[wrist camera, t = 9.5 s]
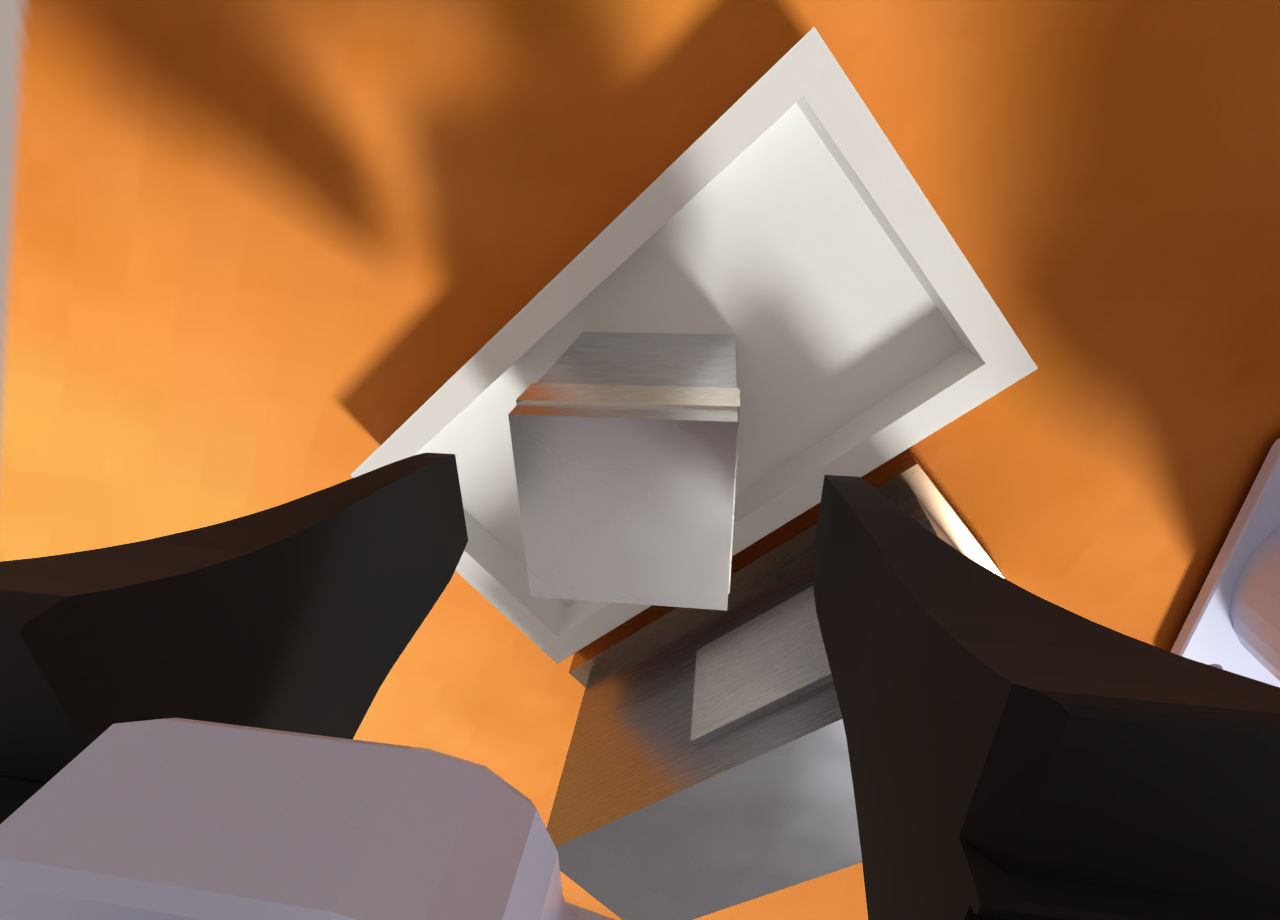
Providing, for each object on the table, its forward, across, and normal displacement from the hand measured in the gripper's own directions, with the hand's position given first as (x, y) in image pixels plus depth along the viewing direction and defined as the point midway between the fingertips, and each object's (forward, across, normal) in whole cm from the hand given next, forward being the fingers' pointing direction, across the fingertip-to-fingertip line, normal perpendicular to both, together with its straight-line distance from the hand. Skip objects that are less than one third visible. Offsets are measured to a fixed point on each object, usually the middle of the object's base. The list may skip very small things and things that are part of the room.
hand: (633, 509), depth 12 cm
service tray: (+6, 0, 0) cm, 6 cm away
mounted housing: (+6, -4, +7) cm, 10 cm away
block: (+6, 0, 0) cm, 6 cm away
